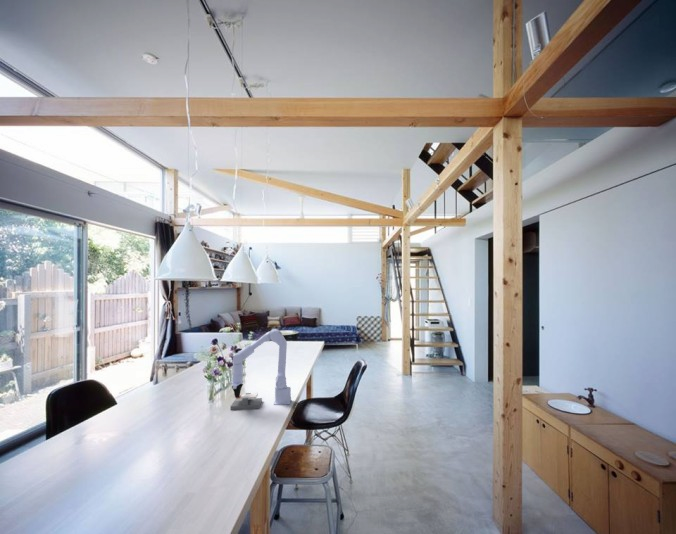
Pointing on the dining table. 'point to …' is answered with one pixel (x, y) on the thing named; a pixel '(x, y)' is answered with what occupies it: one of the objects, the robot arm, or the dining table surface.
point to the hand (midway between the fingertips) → (237, 397)
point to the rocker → (247, 396)
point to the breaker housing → (246, 404)
